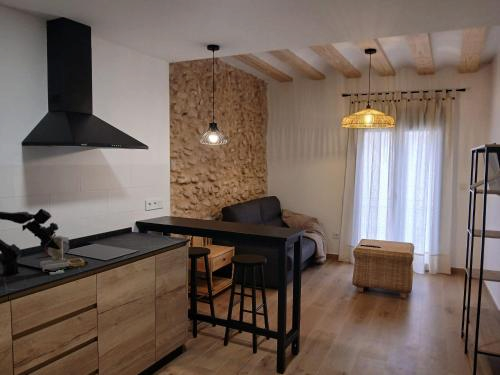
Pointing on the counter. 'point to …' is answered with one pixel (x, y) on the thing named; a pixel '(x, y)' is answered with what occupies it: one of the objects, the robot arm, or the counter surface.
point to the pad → (56, 272)
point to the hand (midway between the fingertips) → (60, 248)
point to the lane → (54, 264)
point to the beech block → (58, 254)
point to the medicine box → (66, 239)
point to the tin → (65, 249)
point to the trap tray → (76, 263)
